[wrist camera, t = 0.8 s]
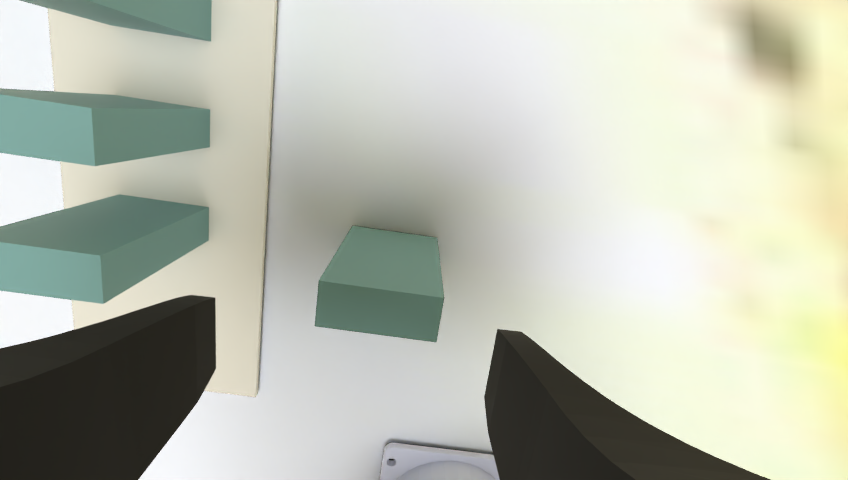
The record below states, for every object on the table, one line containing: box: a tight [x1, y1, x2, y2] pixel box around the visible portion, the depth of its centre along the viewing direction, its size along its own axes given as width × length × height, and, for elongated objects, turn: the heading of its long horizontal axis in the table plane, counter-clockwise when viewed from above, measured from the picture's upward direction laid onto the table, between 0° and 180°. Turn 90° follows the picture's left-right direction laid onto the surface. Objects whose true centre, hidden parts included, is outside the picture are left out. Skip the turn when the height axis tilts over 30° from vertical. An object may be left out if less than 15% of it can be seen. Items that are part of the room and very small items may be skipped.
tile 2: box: [0, 194, 209, 304], centre depth 17 cm, size 2×4×7 cm, turn 81°
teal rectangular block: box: [0, 89, 210, 166], centre depth 15 cm, size 2×4×7 cm, turn 81°
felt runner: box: [48, 0, 277, 397], centre depth 19 cm, size 26×9×1 cm, turn 172°
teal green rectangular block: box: [315, 226, 444, 342], centre depth 17 cm, size 2×4×7 cm, turn 81°
